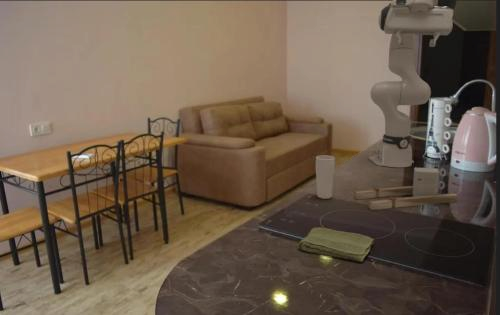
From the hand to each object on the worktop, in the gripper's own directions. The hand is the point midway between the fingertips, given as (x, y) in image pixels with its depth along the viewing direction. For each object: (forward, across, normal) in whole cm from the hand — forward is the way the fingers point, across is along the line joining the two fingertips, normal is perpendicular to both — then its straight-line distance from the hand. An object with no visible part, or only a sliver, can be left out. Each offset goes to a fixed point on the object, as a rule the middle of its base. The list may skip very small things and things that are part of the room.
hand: (416, 45), depth 126 cm
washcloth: (+66, +19, +10) cm, 69 cm away
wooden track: (+45, -3, -27) cm, 53 cm away
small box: (+44, -11, -30) cm, 54 cm away
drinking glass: (+48, +24, -26) cm, 60 cm away
